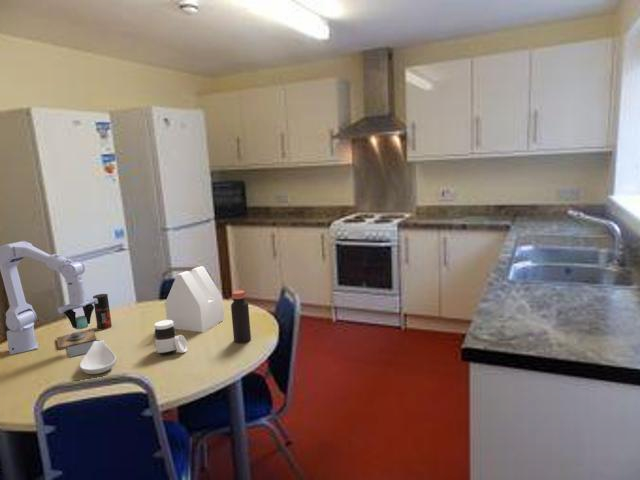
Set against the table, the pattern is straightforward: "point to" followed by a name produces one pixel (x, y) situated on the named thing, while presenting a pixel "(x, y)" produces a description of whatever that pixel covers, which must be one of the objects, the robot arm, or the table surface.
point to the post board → (75, 339)
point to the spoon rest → (98, 359)
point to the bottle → (240, 317)
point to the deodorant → (102, 312)
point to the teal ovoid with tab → (81, 322)
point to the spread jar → (168, 339)
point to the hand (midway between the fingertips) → (81, 325)
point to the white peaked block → (194, 301)
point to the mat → (79, 349)
